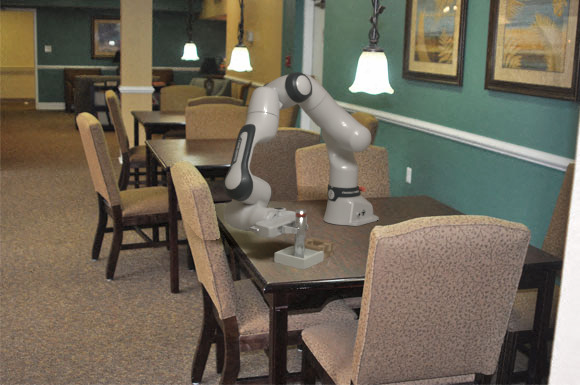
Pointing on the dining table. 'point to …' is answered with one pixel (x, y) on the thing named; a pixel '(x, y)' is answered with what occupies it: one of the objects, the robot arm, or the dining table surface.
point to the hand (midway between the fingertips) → (302, 229)
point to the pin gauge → (300, 233)
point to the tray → (289, 259)
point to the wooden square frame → (320, 246)
